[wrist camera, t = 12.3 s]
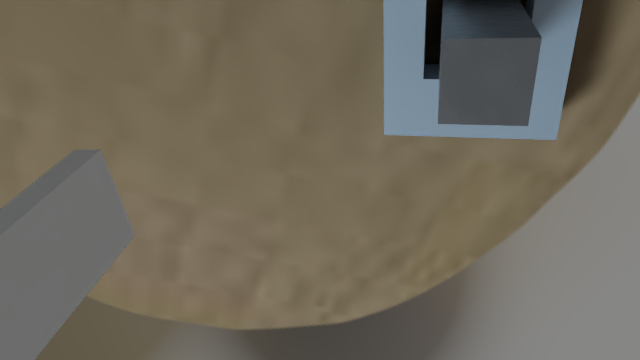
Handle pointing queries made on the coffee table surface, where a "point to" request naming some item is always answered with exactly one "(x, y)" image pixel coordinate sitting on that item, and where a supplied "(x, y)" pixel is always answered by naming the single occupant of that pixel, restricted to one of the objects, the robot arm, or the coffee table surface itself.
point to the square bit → (487, 63)
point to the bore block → (423, 79)
